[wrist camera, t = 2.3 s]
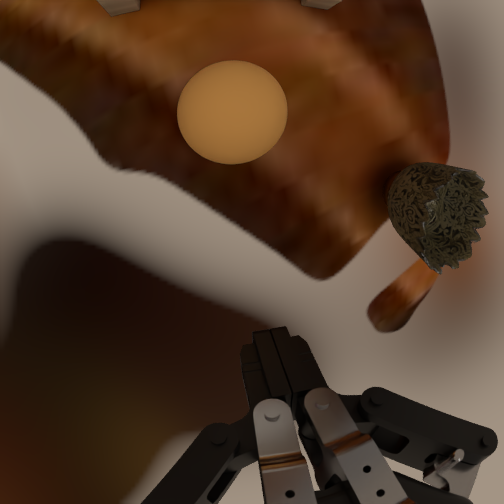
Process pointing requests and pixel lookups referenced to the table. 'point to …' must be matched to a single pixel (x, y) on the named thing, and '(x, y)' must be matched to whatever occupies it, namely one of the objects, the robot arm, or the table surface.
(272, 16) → the table surface
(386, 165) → the table surface
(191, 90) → the ball
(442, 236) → the jagged textured lump
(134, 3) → the bridge
